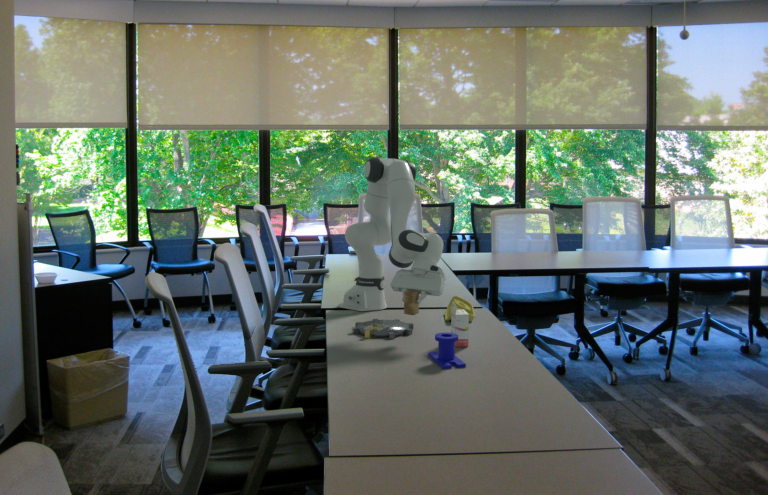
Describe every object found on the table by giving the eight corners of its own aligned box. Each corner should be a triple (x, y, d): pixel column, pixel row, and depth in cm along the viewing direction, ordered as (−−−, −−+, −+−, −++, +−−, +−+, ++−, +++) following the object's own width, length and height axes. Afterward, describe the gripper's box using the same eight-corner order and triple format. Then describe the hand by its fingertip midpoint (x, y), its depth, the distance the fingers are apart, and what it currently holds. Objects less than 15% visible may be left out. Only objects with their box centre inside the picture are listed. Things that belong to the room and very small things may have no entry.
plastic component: (475, 317, 251) (453, 306, 251) (466, 332, 253) (444, 322, 253) (472, 303, 271) (452, 293, 270) (465, 317, 272) (444, 308, 272)
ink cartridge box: (469, 347, 217) (469, 305, 215) (455, 347, 216) (455, 306, 214) (463, 340, 225) (464, 300, 223) (450, 340, 225) (450, 301, 223)
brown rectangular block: (404, 314, 224) (404, 292, 222) (408, 311, 227) (409, 290, 226) (413, 315, 222) (414, 293, 221) (418, 313, 225) (419, 291, 224)
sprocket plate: (340, 334, 234) (340, 326, 234) (371, 320, 255) (371, 313, 255) (395, 342, 223) (395, 334, 222) (424, 327, 244) (424, 320, 243)
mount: (428, 356, 207) (428, 330, 206) (449, 354, 209) (449, 329, 208) (443, 369, 192) (443, 342, 191) (465, 367, 194) (466, 340, 193)
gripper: (395, 263, 233) (382, 293, 226) (445, 268, 223) (433, 300, 216) (400, 273, 238) (388, 303, 230) (449, 278, 228) (438, 310, 221)
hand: (410, 301), depth 223 cm, fingers closed on brown rectangular block, 4 cm apart
